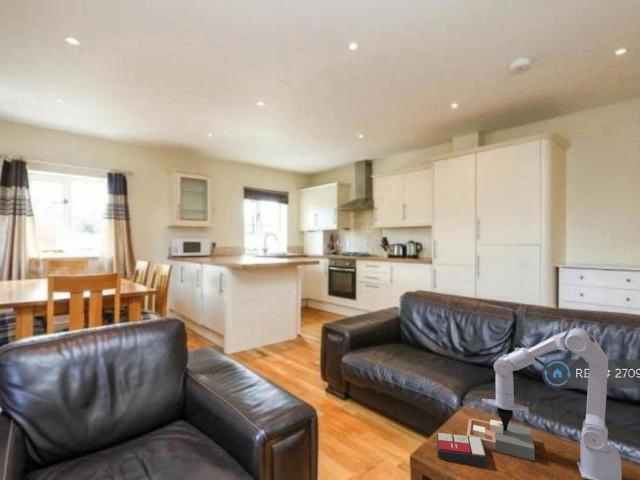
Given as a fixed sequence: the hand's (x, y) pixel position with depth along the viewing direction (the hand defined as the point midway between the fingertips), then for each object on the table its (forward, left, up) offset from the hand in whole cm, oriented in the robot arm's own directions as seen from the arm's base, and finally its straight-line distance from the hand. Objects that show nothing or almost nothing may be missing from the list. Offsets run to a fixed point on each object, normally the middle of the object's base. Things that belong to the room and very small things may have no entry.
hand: (505, 429), depth 119 cm
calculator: (+14, +14, -6) cm, 20 cm away
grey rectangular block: (-3, 0, -5) cm, 6 cm away
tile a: (+3, 0, -1) cm, 3 cm away
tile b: (+8, 0, -2) cm, 9 cm away
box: (+8, 0, -5) cm, 9 cm away
